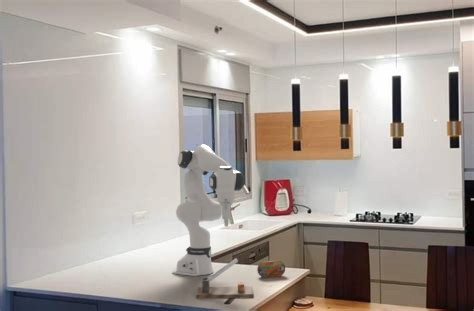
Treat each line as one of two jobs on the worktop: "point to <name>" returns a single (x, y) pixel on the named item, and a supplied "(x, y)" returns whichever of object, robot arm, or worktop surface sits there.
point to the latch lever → (222, 270)
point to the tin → (271, 269)
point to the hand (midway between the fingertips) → (226, 226)
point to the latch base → (223, 291)
